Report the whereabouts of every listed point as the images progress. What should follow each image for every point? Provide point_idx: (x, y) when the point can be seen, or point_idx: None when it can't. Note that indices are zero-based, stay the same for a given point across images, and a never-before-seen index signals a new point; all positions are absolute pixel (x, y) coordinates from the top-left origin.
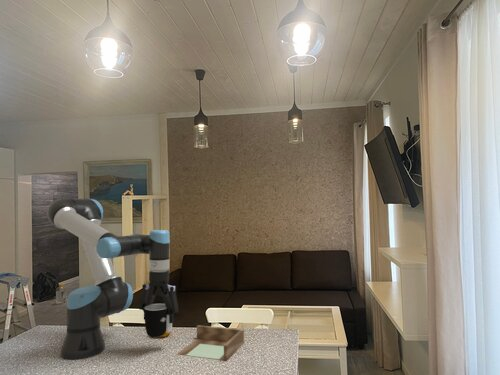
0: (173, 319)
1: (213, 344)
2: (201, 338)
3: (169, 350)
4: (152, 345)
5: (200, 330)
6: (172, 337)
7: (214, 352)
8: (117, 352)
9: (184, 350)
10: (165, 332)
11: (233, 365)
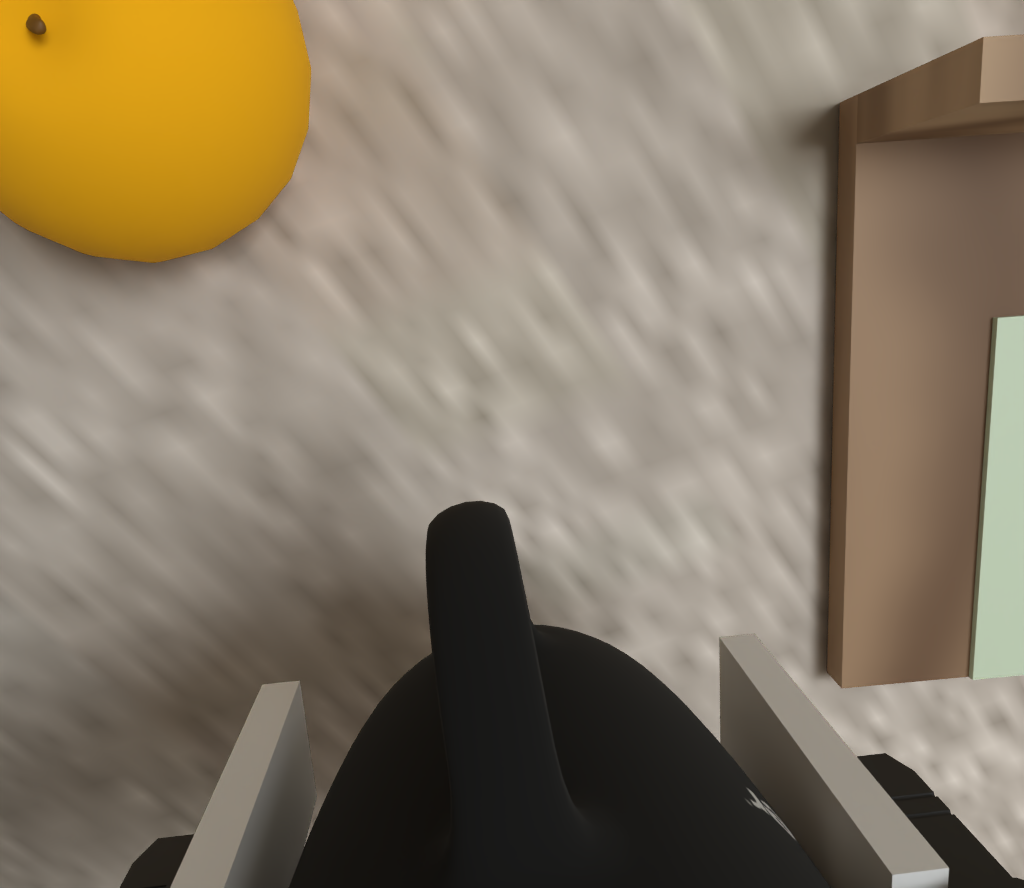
0: (936, 815)
1: None
2: (942, 135)
3: (642, 544)
4: (322, 489)
5: (1010, 113)
6: (387, 123)
7: None
8: (79, 802)
9: (882, 563)
10: (286, 183)
11: None
